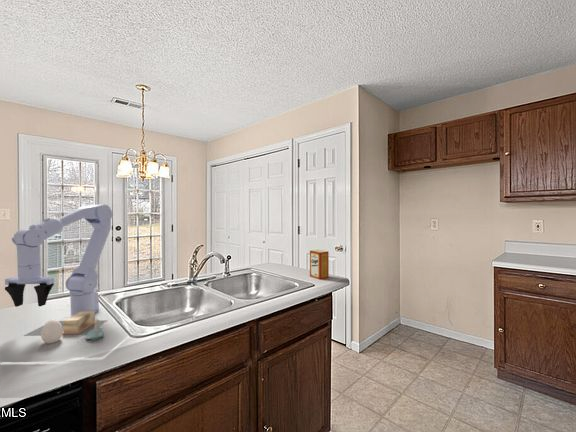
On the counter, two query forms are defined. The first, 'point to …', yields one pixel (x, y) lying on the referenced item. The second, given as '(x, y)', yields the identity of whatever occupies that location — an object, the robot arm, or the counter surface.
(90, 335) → the pacifier
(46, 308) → the counter surface
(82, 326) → the tan wooden block
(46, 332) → the egg
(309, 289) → the counter surface
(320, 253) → the baking soda box
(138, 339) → the counter surface
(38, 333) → the rubber mat
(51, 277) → the robot arm
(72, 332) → the terracotta strip
